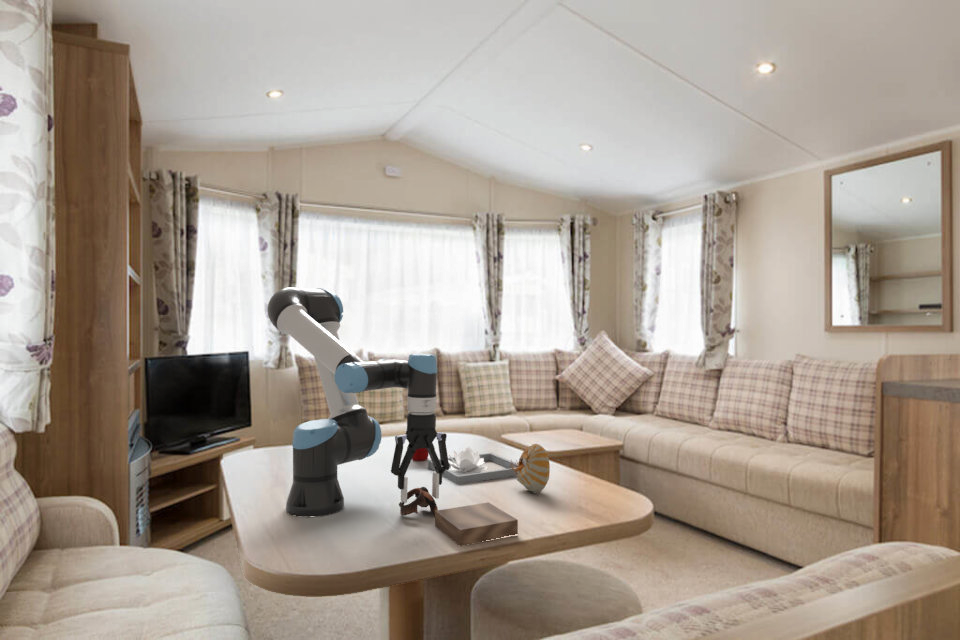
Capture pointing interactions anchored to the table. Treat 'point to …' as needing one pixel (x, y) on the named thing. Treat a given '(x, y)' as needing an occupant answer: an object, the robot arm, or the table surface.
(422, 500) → the broken clay pottery vessel
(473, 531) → the brown wooden square block
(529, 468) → the nautilus
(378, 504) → the table surface
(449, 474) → the slate frame
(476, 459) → the lotus flower
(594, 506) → the table surface
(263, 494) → the table surface
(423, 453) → the plastic cup
